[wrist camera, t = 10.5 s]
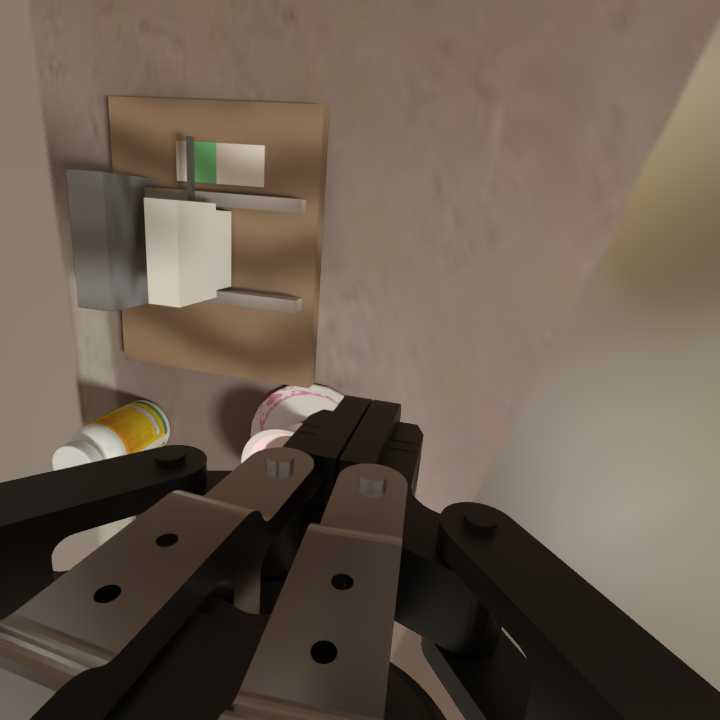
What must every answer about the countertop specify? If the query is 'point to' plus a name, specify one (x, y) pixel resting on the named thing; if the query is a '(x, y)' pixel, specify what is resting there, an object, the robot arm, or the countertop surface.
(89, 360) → the countertop surface
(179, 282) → the gauge slider
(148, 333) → the gauge board
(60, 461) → the supplement bottle
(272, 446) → the teacup
